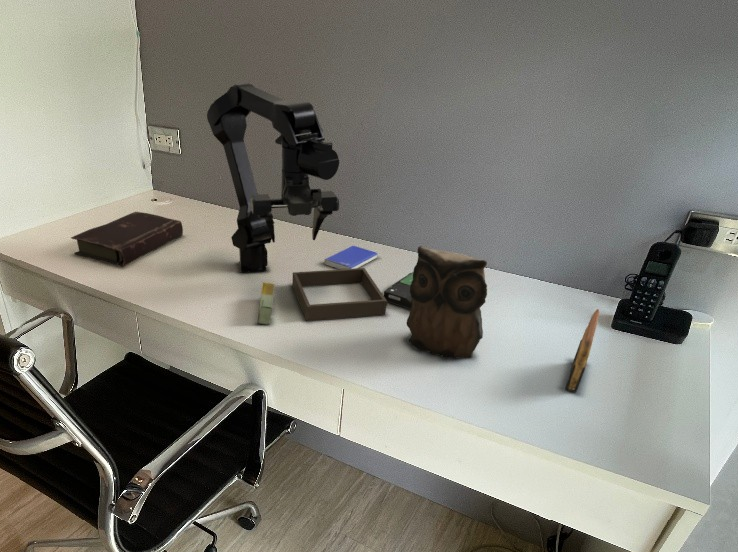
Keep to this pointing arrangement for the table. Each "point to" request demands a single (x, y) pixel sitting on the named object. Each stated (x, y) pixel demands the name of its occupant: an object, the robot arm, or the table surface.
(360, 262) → the hard drive
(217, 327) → the table surface
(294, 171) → the robot arm
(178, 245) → the table surface
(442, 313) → the owl
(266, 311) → the medication box
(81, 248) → the diary
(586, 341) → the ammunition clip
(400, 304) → the disk drive
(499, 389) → the table surface
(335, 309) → the storage box
